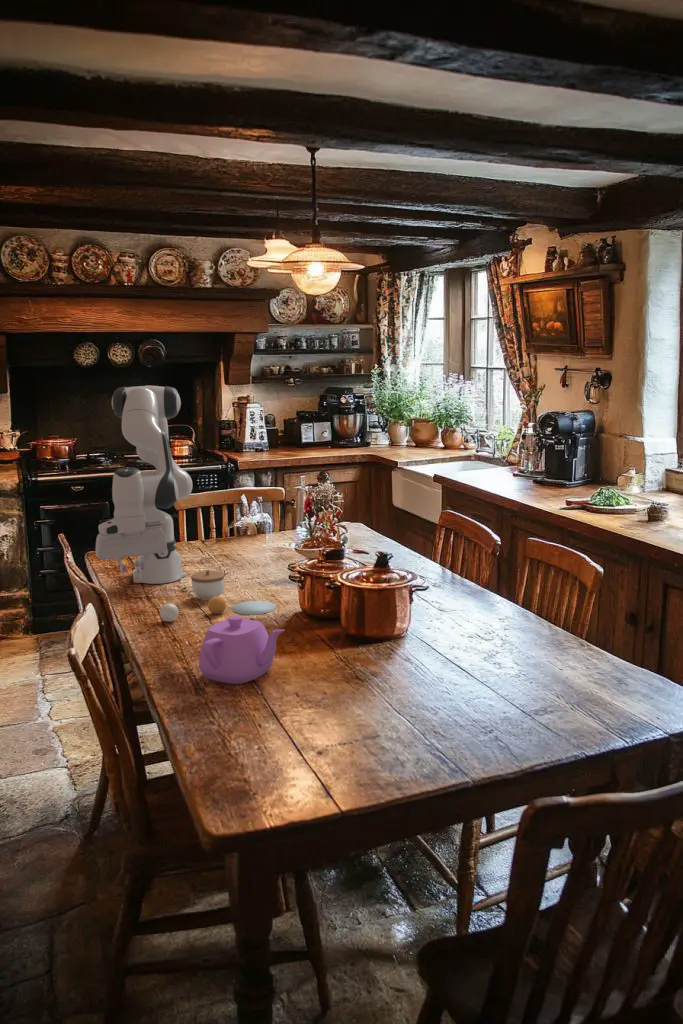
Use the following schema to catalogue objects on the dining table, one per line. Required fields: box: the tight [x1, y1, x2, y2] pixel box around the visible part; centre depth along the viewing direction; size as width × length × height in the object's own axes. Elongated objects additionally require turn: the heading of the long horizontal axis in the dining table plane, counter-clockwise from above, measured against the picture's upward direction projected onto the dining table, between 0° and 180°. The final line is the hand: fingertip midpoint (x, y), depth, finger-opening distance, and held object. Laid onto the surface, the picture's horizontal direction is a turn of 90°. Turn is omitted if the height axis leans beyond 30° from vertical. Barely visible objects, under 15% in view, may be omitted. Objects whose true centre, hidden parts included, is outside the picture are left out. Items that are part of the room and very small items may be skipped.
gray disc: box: [231, 600, 277, 616], centre depth 271 cm, size 14×14×1 cm
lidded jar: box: [191, 569, 225, 601], centre depth 282 cm, size 11×11×9 cm
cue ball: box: [159, 602, 180, 623], centre depth 258 cm, size 6×6×6 cm
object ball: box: [207, 595, 227, 615], centre depth 265 cm, size 6×6×6 cm
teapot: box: [198, 615, 286, 685], centre depth 211 cm, size 23×21×15 cm
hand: (133, 570), depth 251 cm, fingers open, 4 cm apart
